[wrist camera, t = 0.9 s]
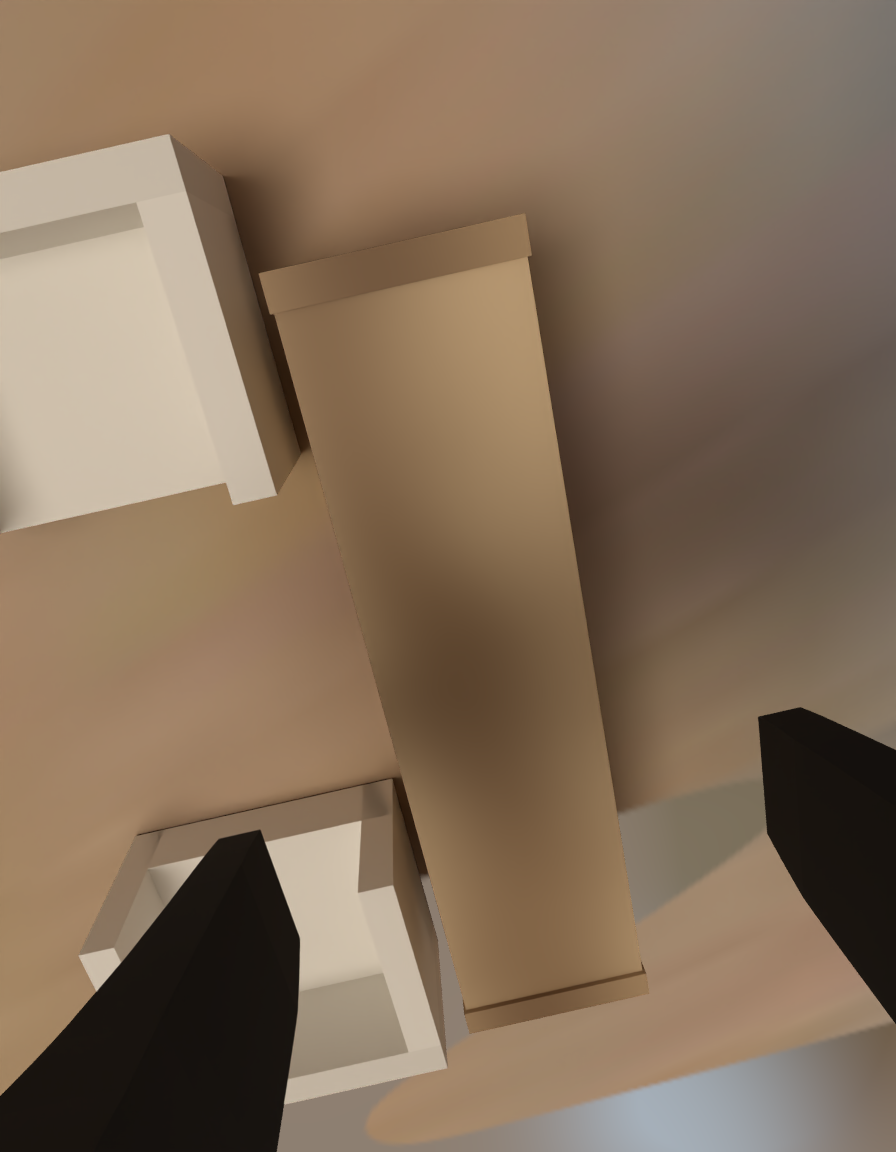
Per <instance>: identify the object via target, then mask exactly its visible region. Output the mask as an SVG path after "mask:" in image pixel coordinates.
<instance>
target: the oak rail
mask: <svg viewBox="0 0 896 1152" xmlns="http://www.w3.org/2000/svg"><path fill="white" fill-rule="evenodd" d="M529 256H532V253H531V247H530V240H529V234H528V228H527V222H526V215H525V213H523V214H519V215H514V216H510V217H506V218H501V219H497V220H492V221H488V222H483V223H479V224H475V225H470V226H466V227H461V228H457V229H452V230H448V231H444V232H439V233H435V234H430V235H426V236H421V237H417V238H413V239H408V240H404V241H399V242H395V243H390V244H386V245H382V246H377V247H373V248H368V249H364V250H359V251H355V252H351V253H346V254H342V255H337V256H333V257H328V258H324V259H320V260H315V261H311V262H306V263H302V264H297V265H293V266H289V267H284V268H280V269H275V270H271V271H266V272H262V273H259V277H260V280H261V284H262V288H263V291H264V295H265V298H266V302H267V306H268V309H269V313H270V315H272V314H274V315H275V319H276V323H277V326H278V330H279V333H280V337H281V341H282V344H283V348H284V352H285V355H286V359H287V362H288V366H289V370H290V373H291V377H292V381H293V384H294V388H295V391H296V395H297V399H298V402H299V406H300V409H301V413H302V417H303V420H304V424H305V428H306V431H307V435H308V438H309V442H310V446H311V449H312V453H313V457H314V460H315V464H316V467H317V471H318V475H319V478H320V482H321V486H322V489H323V493H324V496H325V500H326V504H327V507H328V511H329V515H330V518H331V522H332V525H333V529H334V533H335V536H336V540H337V544H338V547H339V551H340V554H341V558H342V562H343V565H344V569H345V573H346V576H347V580H348V583H349V587H350V591H351V594H352V598H353V602H354V605H355V609H356V612H357V616H358V620H359V623H360V627H361V631H362V634H363V638H364V641H365V645H366V649H367V652H368V656H369V660H370V663H371V667H372V670H373V674H374V678H375V681H376V685H377V689H378V692H379V696H380V699H381V703H382V707H383V710H384V714H385V718H386V721H387V725H388V728H389V732H390V736H391V739H392V743H393V747H394V750H395V754H396V757H397V761H398V765H399V768H400V772H401V776H402V779H403V783H404V786H405V790H406V794H407V797H408V801H409V805H410V808H411V812H412V815H413V819H414V823H415V826H416V830H417V834H418V837H419V841H420V844H421V848H422V852H423V855H424V859H425V862H426V866H427V870H428V873H429V877H430V881H431V884H432V888H433V891H434V895H435V899H436V902H437V906H438V910H439V913H440V917H441V920H442V924H443V928H444V931H445V935H446V939H447V942H448V946H449V949H450V953H451V957H452V960H453V964H454V968H455V971H456V975H457V978H458V982H459V985H460V989H461V993H462V996H463V1006H464V1015H465V1018H466V1022H467V1026H468V1029H469V1033H470V1034H471V1033H476V1032H480V1031H485V1030H489V1029H494V1028H498V1027H502V1026H507V1025H511V1024H516V1023H520V1022H525V1021H529V1020H534V1019H538V1018H543V1017H547V1016H552V1015H556V1014H560V1013H565V1012H569V1011H574V1010H578V1009H583V1008H587V1007H592V1006H596V1005H601V1004H605V1003H610V1002H614V1001H618V1000H623V999H627V998H632V997H636V996H641V995H645V994H649V989H648V982H647V976H646V972H645V970H644V967H643V964H642V962H641V958H640V952H639V946H638V939H637V933H636V927H635V921H634V915H633V908H632V902H631V896H630V890H629V884H628V877H627V871H626V865H625V859H624V853H623V846H622V840H621V834H620V828H619V821H618V815H617V809H616V803H615V797H614V790H613V784H612V778H611V772H610V766H609V759H608V753H607V747H606V741H605V734H604V728H603V722H602V716H601V710H600V703H599V697H598V691H597V685H596V679H595V672H594V666H593V660H592V654H591V648H590V641H589V635H588V629H587V623H586V616H585V610H584V604H583V598H582V592H581V585H580V579H579V573H578V567H577V561H576V554H575V548H574V542H573V536H572V529H571V523H570V517H569V511H568V505H567V498H566V492H565V486H564V480H563V474H562V467H561V461H560V455H559V449H558V442H557V436H556V430H555V424H554V418H553V411H552V405H551V399H550V393H549V387H548V380H547V374H546V368H545V362H544V356H543V349H542V343H541V337H540V331H539V324H538V318H537V312H536V306H535V300H534V293H533V287H532V281H531V275H530V269H529V262H528V257H529Z"/></svg>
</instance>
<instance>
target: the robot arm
mask: <svg viewBox="0 0 896 1152" xmlns="http://www.w3.org/2000/svg"><path fill="white" fill-rule="evenodd" d="M758 721H759V733H760V746H761V759H762V772H763V785H764V797H765V810H766V823H767V834H768V836H769V837H770V839H771V841H772V843H773V845H774V847H775V848H776V850H777V852H778V854H779V856H780V858H781V859H782V861H783V863H784V865H785V867H786V869H787V870H788V872H789V874H790V875H791V877H792V879H793V881H794V882H795V884H796V886H797V888H798V889H799V891H800V893H801V894H802V896H803V898H804V899H805V901H806V902H807V904H808V905H809V906H810V908H811V909H812V911H813V912H814V913H815V915H816V916H817V918H818V919H819V920H820V922H821V923H822V924H823V926H824V927H825V929H826V930H827V931H828V933H829V934H830V935H831V937H832V938H833V940H834V941H835V942H836V944H837V945H838V946H839V948H840V949H841V951H842V952H843V953H844V955H845V956H846V957H847V959H848V960H849V961H850V963H851V964H852V965H853V967H854V968H855V969H856V971H857V972H858V973H859V975H860V976H861V978H862V979H863V980H864V982H865V983H866V984H867V986H868V987H869V988H870V990H871V991H872V992H873V994H874V995H875V996H876V998H877V999H878V1001H879V1002H880V1003H881V1005H882V1006H883V1007H884V1009H885V1010H886V1011H887V1013H888V1014H889V1015H890V1017H891V1018H892V1019H893V1021H894V1022H895V1024H896V750H895V749H892V748H890V747H888V746H886V745H884V744H882V743H880V742H877V741H875V740H873V739H871V738H869V737H867V736H864V735H862V734H860V733H858V732H856V731H854V730H851V729H849V728H847V727H845V726H843V725H841V724H838V723H836V722H834V721H832V720H830V719H827V718H825V717H823V716H821V715H818V714H816V713H814V712H811V711H809V710H806V709H804V708H801V707H799V708H795V709H791V710H786V711H782V712H777V713H773V714H769V715H764V716H760V717H758ZM299 974H300V937H299V934H298V931H297V929H296V926H295V923H294V920H293V918H292V915H291V912H290V909H289V907H288V904H287V901H286V898H285V896H284V893H283V890H282V887H281V885H280V882H279V879H278V876H277V874H276V871H275V868H274V865H273V863H272V860H271V857H270V854H269V852H268V849H267V846H266V843H265V841H264V838H263V835H262V832H261V830H255V831H251V832H246V833H242V834H238V835H233V836H229V837H224V838H220V839H218V840H217V841H216V842H215V844H214V845H213V846H212V847H211V848H210V850H209V851H208V852H207V853H206V855H205V856H204V857H203V858H202V860H201V861H200V862H199V864H198V865H197V866H196V868H195V869H194V870H193V871H192V873H191V874H190V875H189V877H188V878H187V879H186V881H185V882H184V883H183V885H182V886H181V887H180V888H179V890H178V891H177V892H176V894H175V895H174V896H173V898H172V899H171V900H170V902H169V903H168V904H167V905H166V907H165V908H164V909H163V911H162V912H161V913H160V914H159V916H158V917H157V918H156V919H155V921H154V922H153V923H152V925H151V926H150V927H149V928H148V930H147V931H146V932H145V933H144V935H143V936H142V937H141V939H140V940H139V941H138V942H137V944H136V945H135V946H134V947H133V949H132V950H131V951H130V953H129V954H128V955H127V956H126V957H125V959H124V960H123V961H122V962H121V963H120V965H119V966H118V967H117V968H116V969H115V970H114V972H113V973H112V974H111V975H110V976H109V977H108V979H107V980H106V981H105V982H104V983H103V984H102V986H101V987H100V988H99V989H98V990H97V992H96V993H95V994H94V995H93V996H92V997H91V999H90V1000H89V1001H88V1002H87V1003H86V1004H85V1006H84V1007H83V1008H82V1009H81V1010H80V1011H79V1013H78V1014H77V1015H76V1016H75V1017H74V1019H73V1020H72V1021H71V1022H70V1023H69V1024H68V1025H67V1027H66V1028H65V1029H64V1030H63V1031H62V1032H61V1033H60V1034H59V1035H58V1037H57V1038H56V1039H55V1040H54V1041H53V1042H52V1043H51V1044H50V1045H49V1046H48V1047H47V1048H46V1049H45V1051H44V1052H43V1053H42V1054H41V1055H40V1056H39V1057H38V1058H37V1059H36V1060H35V1061H34V1062H33V1063H32V1064H31V1065H30V1066H29V1067H28V1068H27V1069H26V1070H25V1071H24V1072H23V1074H22V1075H21V1076H20V1077H19V1078H18V1079H17V1080H16V1081H15V1082H14V1083H13V1084H12V1085H11V1086H10V1087H9V1088H8V1089H7V1090H6V1091H5V1092H4V1093H3V1094H2V1095H1V1096H0V1152H277V1146H278V1139H279V1133H280V1127H281V1120H282V1114H283V1108H284V1101H285V1095H286V1089H287V1082H288V1076H289V1069H290V1063H291V1056H292V1049H293V1043H294V1036H295V1029H296V1022H297V1015H298V998H299Z"/></svg>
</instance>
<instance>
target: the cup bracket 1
mask: <svg viewBox="0 0 896 1152" xmlns="http://www.w3.org/2000/svg"><path fill="white" fill-rule="evenodd" d="M300 455H301V452H300V449H299V445H298V442H297V438H296V435H295V431H294V427H293V424H292V420H291V417H290V413H289V410H288V406H287V403H286V399H285V395H284V392H283V388H282V385H281V381H280V378H279V374H278V371H277V367H276V363H275V360H274V356H273V353H272V349H271V346H270V342H269V339H268V335H267V331H266V328H265V324H264V321H263V317H262V314H261V310H260V307H259V303H258V300H257V296H256V292H255V289H254V285H253V282H252V278H251V275H250V271H249V268H248V264H247V260H246V257H245V253H244V250H243V246H242V243H241V239H240V236H239V232H238V228H237V225H236V221H235V218H234V214H233V211H232V207H231V204H230V200H229V196H228V193H227V189H226V186H225V182H224V179H223V176H222V175H221V174H220V173H219V172H217V171H216V170H215V169H213V168H212V167H211V166H209V165H208V164H207V163H206V162H204V161H203V160H202V159H200V158H199V157H198V156H197V155H195V154H194V153H193V152H191V151H190V150H189V149H188V148H186V147H185V146H184V145H182V144H181V143H180V142H179V141H177V140H176V139H175V138H173V137H172V136H171V135H170V134H167V135H162V136H158V137H153V138H149V139H145V140H140V141H136V142H131V143H127V144H122V145H118V146H114V147H109V148H105V149H100V150H96V151H92V152H87V153H83V154H78V155H74V156H69V157H65V158H61V159H56V160H52V161H47V162H43V163H39V164H34V165H30V166H25V167H21V168H16V169H12V170H8V171H3V172H0V533H4V532H8V531H13V530H17V529H22V528H26V527H30V526H35V525H39V524H44V523H48V522H53V521H57V520H61V519H66V518H70V517H75V516H79V515H84V514H88V513H93V512H97V511H101V510H106V509H110V508H115V507H119V506H124V505H128V504H132V503H137V502H141V501H146V500H150V499H155V498H159V497H164V496H168V495H172V494H177V493H181V492H186V491H190V490H195V489H199V488H204V487H208V486H212V485H217V484H221V483H226V484H227V487H228V490H229V493H230V497H231V500H232V503H233V505H236V504H241V503H245V502H249V501H254V500H258V499H263V498H267V497H272V496H276V495H277V494H278V492H279V491H280V489H281V487H282V486H283V484H284V482H285V481H286V479H287V477H288V475H289V474H290V472H291V470H292V469H293V467H294V465H295V463H296V462H297V460H298V458H299V457H300Z"/></svg>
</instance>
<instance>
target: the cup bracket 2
mask: <svg viewBox="0 0 896 1152" xmlns="http://www.w3.org/2000/svg"><path fill="white" fill-rule="evenodd" d="M255 830H261V832H262V835H263V838H264V841H265V843H266V846H267V849H268V852H269V854H270V857H271V860H272V863H273V865H274V868H275V871H276V874H277V876H278V879H279V882H280V885H281V887H282V890H283V893H284V896H285V898H286V901H287V904H288V907H289V909H290V912H291V915H292V918H293V920H294V923H295V926H296V929H297V931H298V934H299V937H300V974H299V998H298V1015H297V1022H296V1029H295V1036H294V1043H293V1049H292V1056H291V1063H290V1069H289V1076H288V1082H287V1089H286V1095H285V1101H284V1104H289V1103H293V1102H298V1101H302V1100H307V1099H311V1098H316V1097H320V1096H325V1095H329V1094H334V1093H338V1092H342V1091H347V1090H352V1089H356V1088H361V1087H365V1086H369V1085H374V1084H378V1083H383V1082H387V1081H392V1080H396V1079H401V1078H405V1077H410V1076H414V1075H419V1074H423V1073H428V1072H432V1071H437V1070H441V1069H446V1068H448V1065H447V1052H446V1039H445V1028H444V1015H443V1001H442V988H441V976H440V962H439V949H438V939H437V936H436V932H435V929H434V925H433V921H432V918H431V914H430V911H429V907H428V904H427V900H426V896H425V893H424V889H423V886H422V882H421V879H420V875H419V872H418V868H417V864H416V861H415V857H414V854H413V850H412V847H411V843H410V840H409V836H408V832H407V829H406V825H405V822H404V818H403V815H402V811H401V808H400V804H399V801H398V797H397V793H396V790H395V786H394V783H393V779H388V780H384V781H379V782H375V783H370V784H366V785H361V786H357V787H352V788H348V789H343V790H339V791H335V792H330V793H326V794H321V795H317V796H312V797H308V798H303V799H299V800H294V801H290V802H285V803H281V804H277V805H272V806H268V807H263V808H259V809H254V810H250V811H245V812H241V813H236V814H232V815H228V816H223V817H219V818H214V819H210V820H205V821H201V822H196V823H192V824H187V825H183V826H179V827H174V828H170V829H165V830H161V831H156V832H152V833H147V834H143V835H138V836H135V838H134V840H133V842H132V844H131V847H130V849H129V851H128V853H127V855H126V857H125V859H124V861H123V863H122V865H121V868H120V870H119V872H118V874H117V876H116V878H115V880H114V882H113V884H112V886H111V889H110V891H109V893H108V895H107V897H106V899H105V901H104V903H103V905H102V907H101V910H100V912H99V914H98V916H97V918H96V920H95V922H94V924H93V926H92V928H91V930H90V933H89V935H88V937H87V939H86V941H85V943H84V945H83V947H82V949H81V951H80V954H79V958H80V960H81V962H82V964H83V966H84V968H85V970H86V972H87V974H88V976H89V978H90V980H91V982H92V984H93V986H94V988H95V990H96V991H97V990H98V989H99V988H100V987H101V986H102V984H103V983H104V982H105V981H106V980H107V979H108V977H109V976H110V975H111V974H112V973H113V972H114V970H115V969H116V968H117V967H118V966H119V965H120V963H121V962H122V961H123V960H124V959H125V957H126V956H127V955H128V954H129V953H130V951H131V950H132V949H133V947H134V946H135V945H136V944H137V942H138V941H139V940H140V939H141V937H142V936H143V935H144V933H145V932H146V931H147V930H148V928H149V927H150V926H151V925H152V923H153V922H154V921H155V919H156V918H157V917H158V916H159V914H160V913H161V912H162V911H163V909H164V908H165V907H166V905H167V904H168V903H169V902H170V900H171V899H172V898H173V896H174V895H175V894H176V892H177V891H178V890H179V888H180V887H181V886H182V885H183V883H184V882H185V881H186V879H187V878H188V877H189V875H190V874H191V873H192V871H193V870H194V869H195V868H196V866H197V865H198V864H199V862H200V861H201V860H202V858H203V857H204V856H205V855H206V853H207V852H208V851H209V850H210V848H211V847H212V846H213V845H214V844H215V842H216V841H217V840H218V839H220V838H224V837H229V836H233V835H238V834H242V833H246V832H251V831H255Z"/></svg>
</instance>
